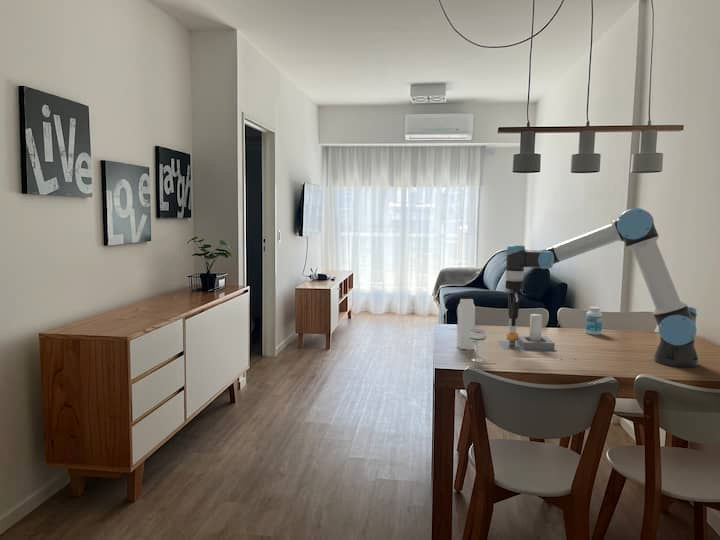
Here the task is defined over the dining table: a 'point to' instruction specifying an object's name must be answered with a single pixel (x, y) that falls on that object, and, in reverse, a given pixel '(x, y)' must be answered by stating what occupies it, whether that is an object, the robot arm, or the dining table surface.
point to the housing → (528, 344)
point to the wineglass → (477, 340)
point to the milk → (465, 323)
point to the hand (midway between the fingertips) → (512, 332)
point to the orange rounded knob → (512, 336)
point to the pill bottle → (593, 321)
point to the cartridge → (535, 327)
